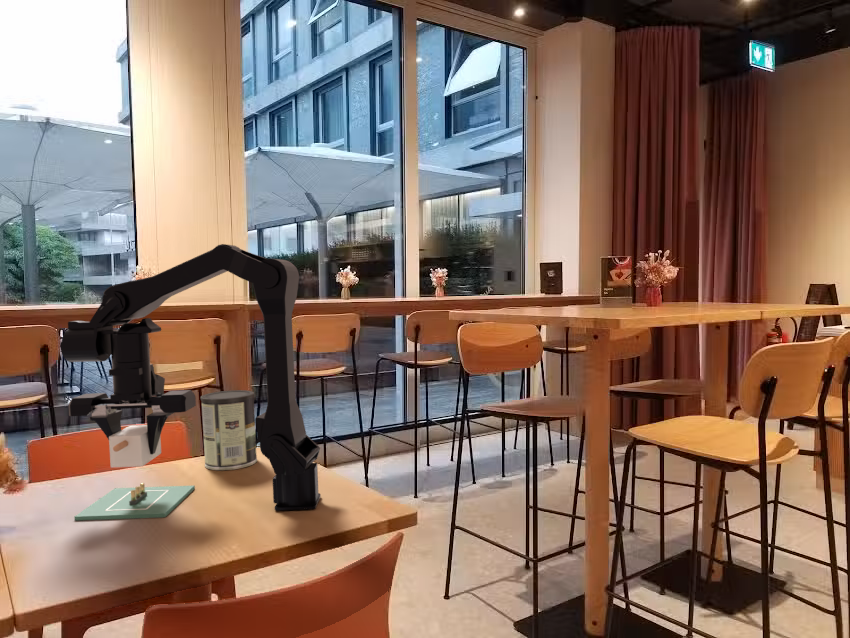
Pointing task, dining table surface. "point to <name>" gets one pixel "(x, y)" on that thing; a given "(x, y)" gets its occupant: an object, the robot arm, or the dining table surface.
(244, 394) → the coffee can
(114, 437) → the block
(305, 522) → the dining table surface
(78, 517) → the pin board
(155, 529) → the dining table surface
